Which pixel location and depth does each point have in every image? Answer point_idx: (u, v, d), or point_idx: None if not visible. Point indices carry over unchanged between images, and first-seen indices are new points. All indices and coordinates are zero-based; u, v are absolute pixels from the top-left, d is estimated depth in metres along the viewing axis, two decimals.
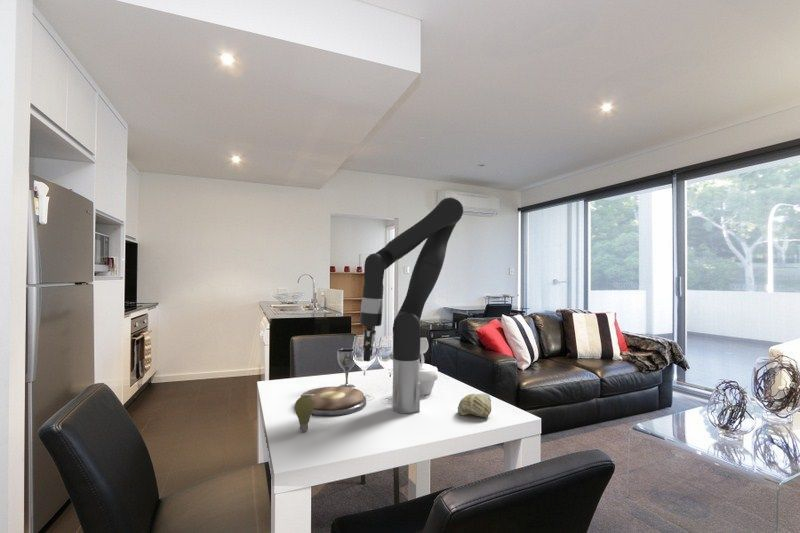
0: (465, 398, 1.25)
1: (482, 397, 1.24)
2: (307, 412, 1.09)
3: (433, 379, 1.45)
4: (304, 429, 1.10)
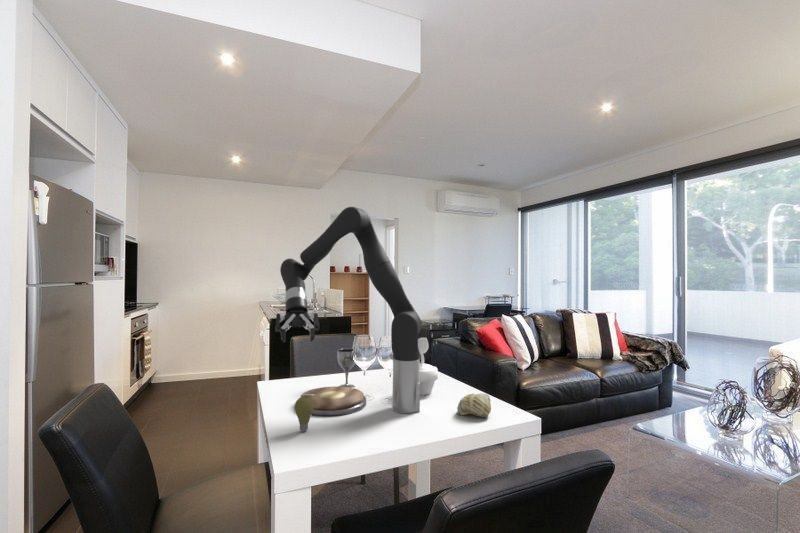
0: (465, 398, 1.25)
1: (482, 397, 1.24)
2: (307, 412, 1.09)
3: (433, 379, 1.45)
4: (304, 429, 1.10)
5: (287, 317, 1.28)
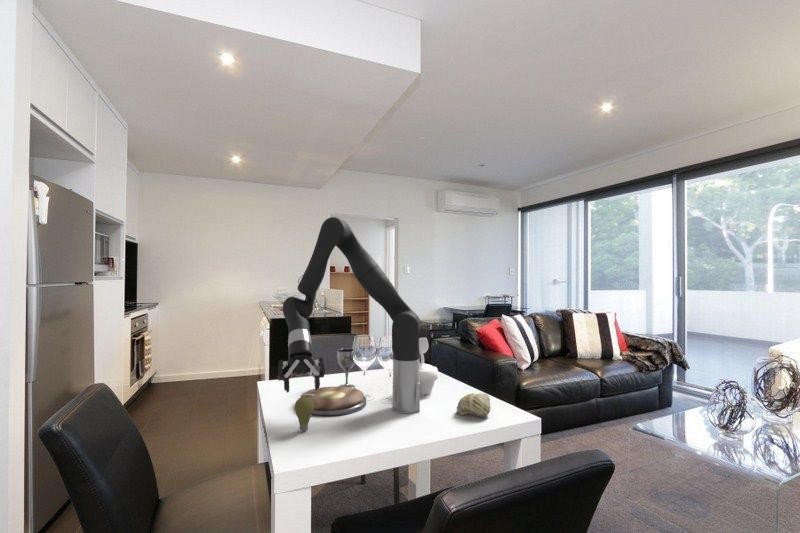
0: (464, 398, 1.25)
1: (481, 396, 1.25)
2: (307, 412, 1.09)
3: (433, 379, 1.45)
4: (304, 429, 1.10)
5: (290, 363, 1.21)
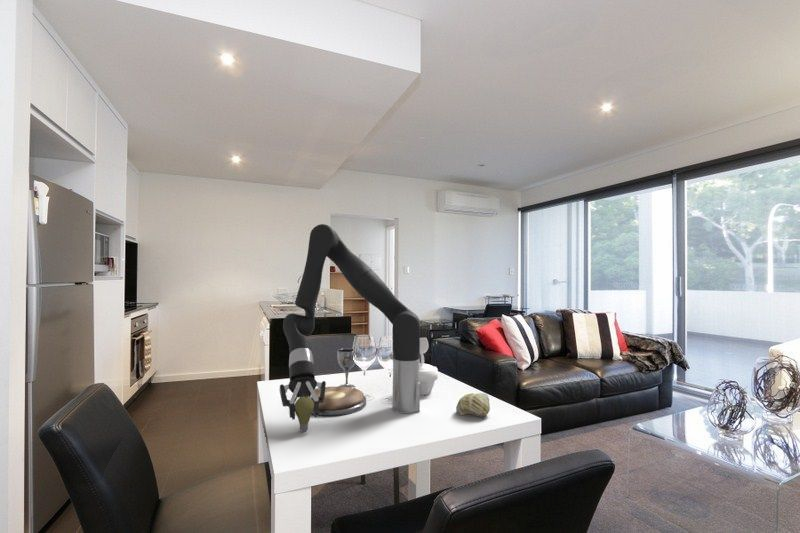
0: (464, 398, 1.25)
1: (481, 396, 1.25)
2: (307, 412, 1.09)
3: (433, 379, 1.45)
4: (304, 429, 1.10)
5: (292, 386, 1.14)
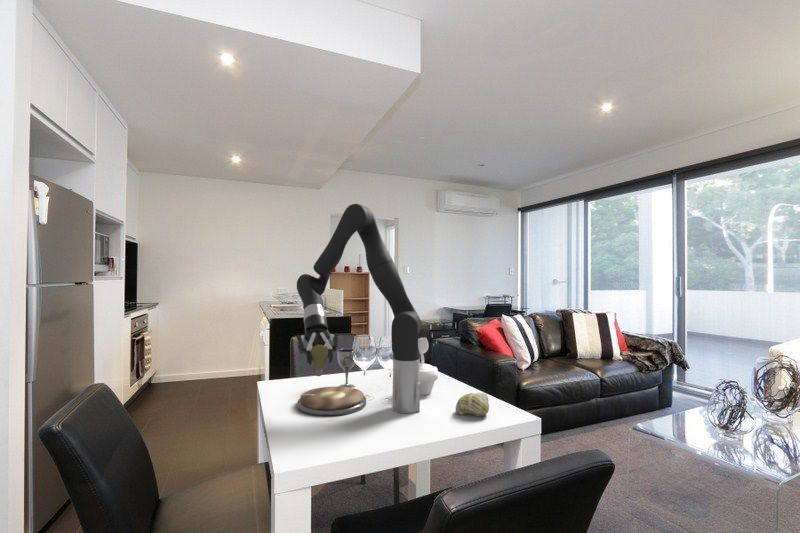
0: (463, 397, 1.25)
1: (480, 396, 1.25)
2: (322, 357, 1.20)
3: (433, 379, 1.45)
4: (319, 373, 1.21)
5: (308, 336, 1.25)
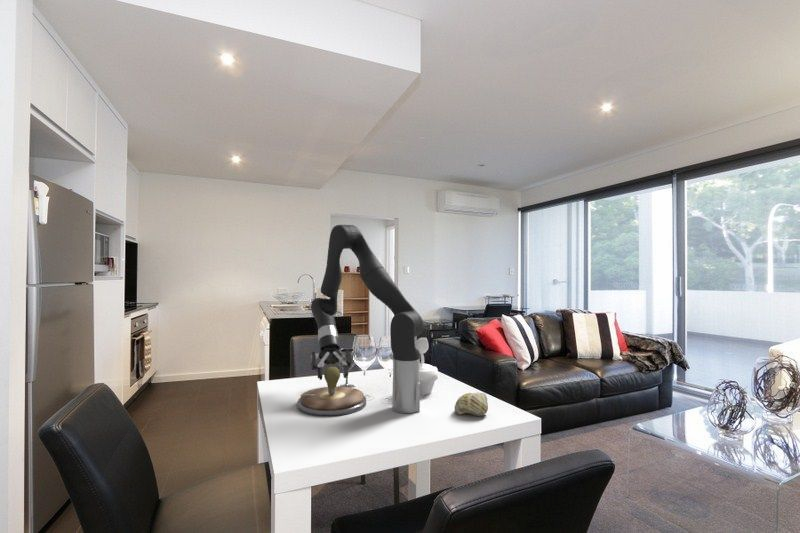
0: (462, 397, 1.26)
1: (479, 396, 1.25)
2: (334, 378, 1.33)
3: (433, 379, 1.45)
4: (332, 393, 1.34)
5: (322, 355, 1.38)
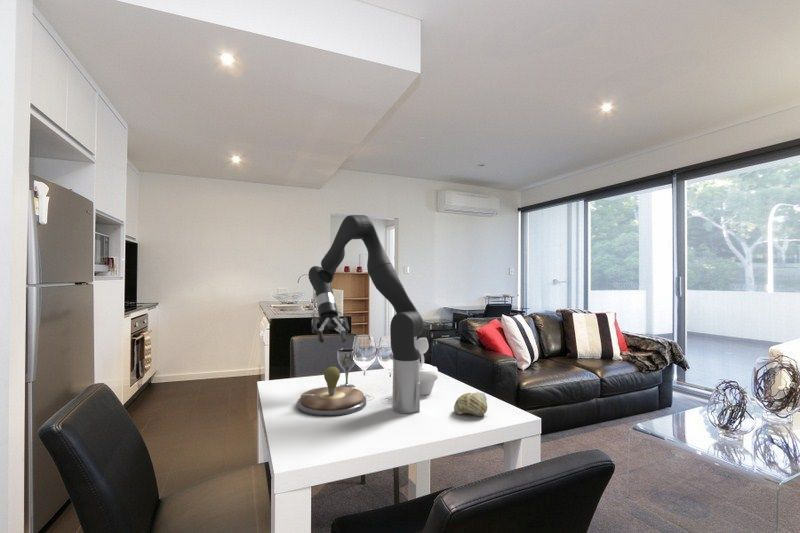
0: (461, 397, 1.26)
1: (478, 395, 1.26)
2: (334, 378, 1.33)
3: (433, 379, 1.45)
4: (332, 393, 1.34)
5: (322, 320, 1.47)
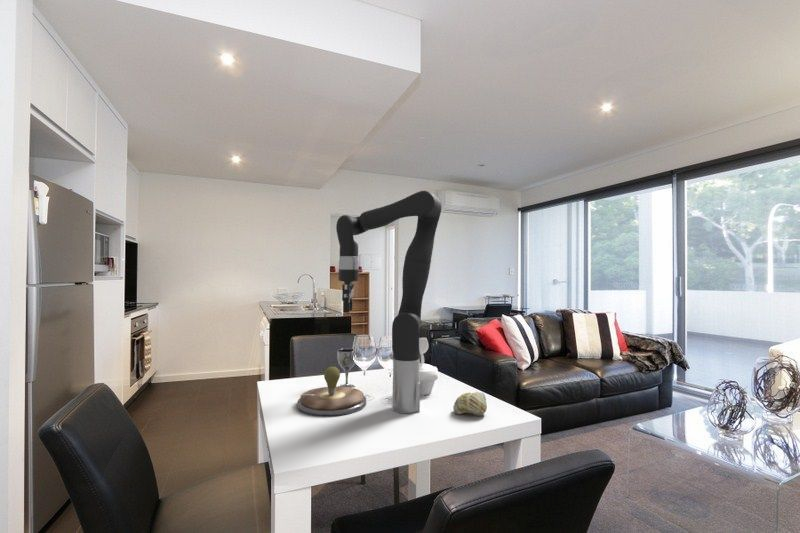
0: (461, 397, 1.26)
1: (478, 395, 1.26)
2: (334, 378, 1.33)
3: (433, 379, 1.45)
4: (332, 393, 1.34)
5: (349, 288, 1.41)
